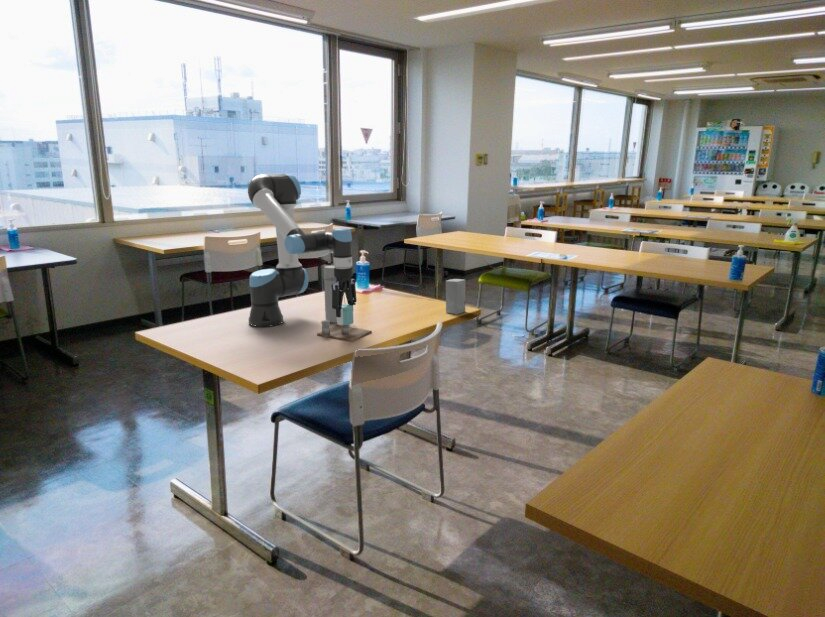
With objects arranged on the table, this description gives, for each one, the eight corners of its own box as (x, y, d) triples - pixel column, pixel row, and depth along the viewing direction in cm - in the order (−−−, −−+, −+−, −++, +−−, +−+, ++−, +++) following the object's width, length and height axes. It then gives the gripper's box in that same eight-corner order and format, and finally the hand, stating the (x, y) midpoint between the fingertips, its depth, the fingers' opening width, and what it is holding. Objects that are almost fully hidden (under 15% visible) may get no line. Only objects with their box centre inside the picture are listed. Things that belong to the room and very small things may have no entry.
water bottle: (326, 324, 247) (324, 268, 241) (324, 319, 255) (322, 265, 248) (347, 322, 250) (345, 267, 243) (344, 317, 257) (342, 264, 250)
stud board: (316, 335, 231) (315, 320, 229) (337, 326, 243) (336, 312, 242) (351, 342, 222) (351, 326, 221) (371, 332, 235) (371, 318, 233)
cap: (334, 323, 228) (333, 307, 226) (343, 320, 233) (343, 303, 231) (347, 325, 225) (346, 309, 223) (356, 322, 230) (355, 305, 228)
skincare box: (456, 315, 261) (457, 282, 257) (444, 312, 265) (444, 280, 261) (466, 311, 268) (467, 279, 264) (453, 309, 272) (454, 277, 268)
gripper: (336, 272, 213) (338, 329, 219) (364, 264, 230) (365, 317, 235) (320, 270, 217) (323, 327, 223) (349, 262, 233) (351, 315, 239)
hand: (345, 322), depth 229 cm, fingers closed on cap, 6 cm apart
